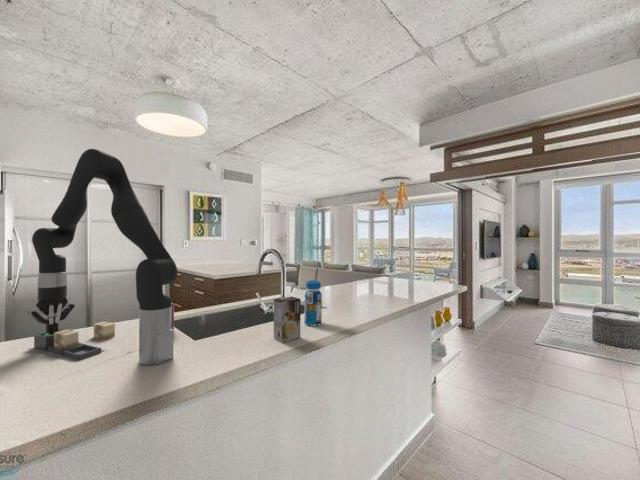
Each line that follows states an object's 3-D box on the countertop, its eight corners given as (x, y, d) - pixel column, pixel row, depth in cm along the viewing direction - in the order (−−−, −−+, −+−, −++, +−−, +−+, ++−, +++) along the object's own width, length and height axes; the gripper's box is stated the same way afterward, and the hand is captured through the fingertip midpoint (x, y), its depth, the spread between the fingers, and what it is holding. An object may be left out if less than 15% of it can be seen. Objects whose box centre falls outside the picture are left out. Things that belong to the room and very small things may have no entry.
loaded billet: (78, 349, 100) (78, 331, 100) (64, 353, 96) (64, 335, 96) (67, 346, 102) (67, 329, 102) (53, 350, 98) (53, 332, 98)
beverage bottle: (301, 322, 138) (301, 280, 138) (317, 320, 142) (318, 279, 141) (308, 327, 130) (308, 283, 130) (324, 325, 134) (325, 282, 134)
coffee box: (291, 333, 122) (292, 296, 122) (300, 338, 117) (301, 298, 117) (272, 338, 116) (273, 298, 116) (281, 343, 111) (282, 301, 111)
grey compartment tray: (106, 353, 99) (106, 337, 99) (72, 365, 89) (72, 347, 89) (62, 342, 108) (62, 327, 108) (27, 352, 99) (27, 336, 99)
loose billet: (114, 338, 113) (114, 323, 113) (103, 342, 109) (103, 326, 109) (104, 336, 115) (104, 321, 115) (93, 339, 111) (93, 324, 111)
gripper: (34, 288, 94) (34, 341, 94) (80, 283, 106) (80, 329, 107) (21, 286, 97) (21, 338, 97) (68, 281, 109) (67, 327, 109)
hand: (52, 333), depth 102 cm, fingers closed
